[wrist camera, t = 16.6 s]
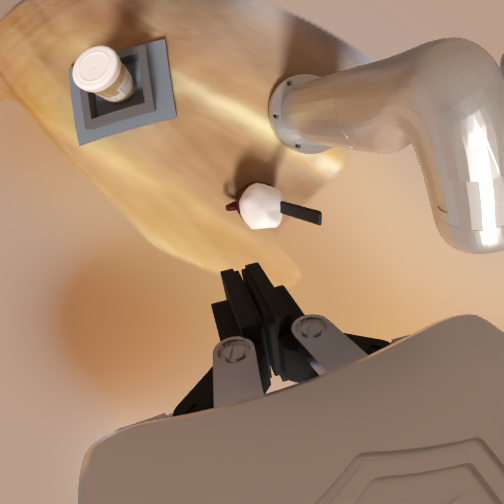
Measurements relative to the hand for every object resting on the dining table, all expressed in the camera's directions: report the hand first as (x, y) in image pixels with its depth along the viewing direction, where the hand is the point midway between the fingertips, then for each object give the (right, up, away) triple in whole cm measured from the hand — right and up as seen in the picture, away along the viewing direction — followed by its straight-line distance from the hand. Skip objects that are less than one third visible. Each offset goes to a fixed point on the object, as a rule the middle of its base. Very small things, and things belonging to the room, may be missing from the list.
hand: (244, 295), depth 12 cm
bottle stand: (-17, +24, +18) cm, 34 cm away
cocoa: (+1, +10, +29) cm, 31 cm away
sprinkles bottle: (-17, +23, +17) cm, 33 cm away
